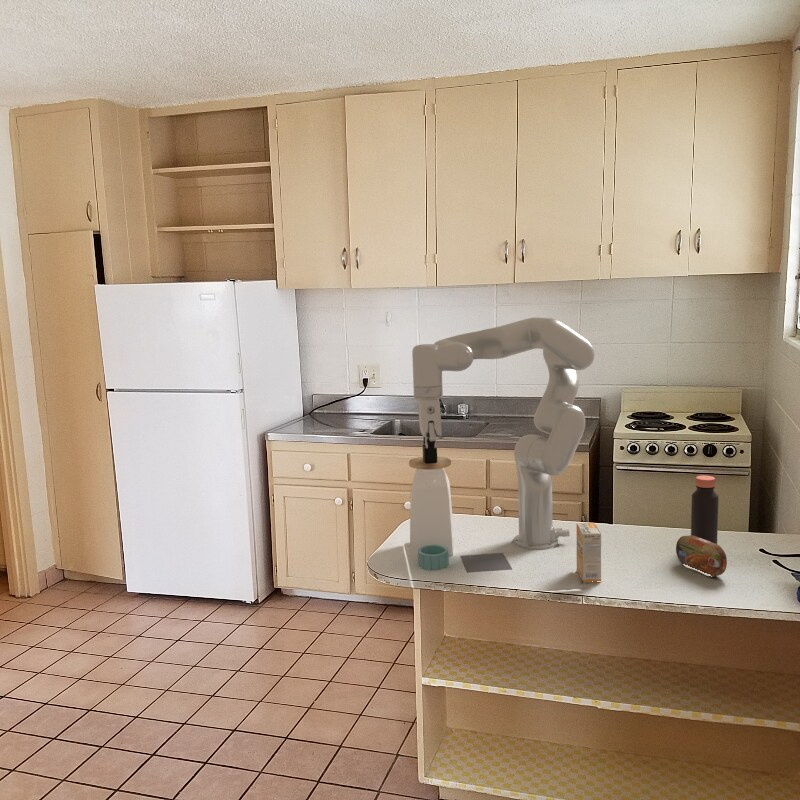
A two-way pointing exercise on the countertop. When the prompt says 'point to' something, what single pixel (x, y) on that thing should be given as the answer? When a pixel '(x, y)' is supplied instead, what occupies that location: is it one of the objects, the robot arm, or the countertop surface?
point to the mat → (485, 562)
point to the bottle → (705, 509)
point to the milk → (431, 511)
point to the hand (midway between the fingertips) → (430, 460)
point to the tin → (701, 555)
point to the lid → (420, 463)
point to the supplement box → (588, 552)
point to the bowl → (433, 557)
